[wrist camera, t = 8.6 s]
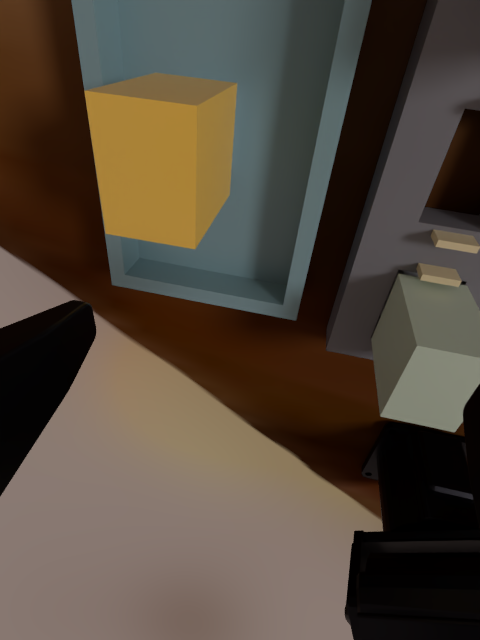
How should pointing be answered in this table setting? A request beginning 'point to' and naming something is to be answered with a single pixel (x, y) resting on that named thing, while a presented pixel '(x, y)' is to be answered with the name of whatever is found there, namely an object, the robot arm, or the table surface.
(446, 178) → the table surface
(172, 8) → the parts tray
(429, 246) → the block
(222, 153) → the block
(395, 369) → the block
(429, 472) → the robot arm
